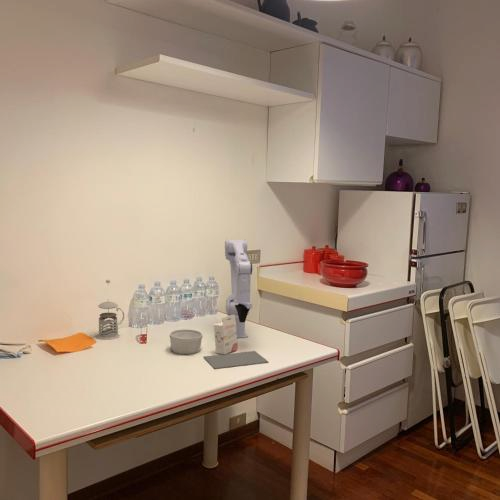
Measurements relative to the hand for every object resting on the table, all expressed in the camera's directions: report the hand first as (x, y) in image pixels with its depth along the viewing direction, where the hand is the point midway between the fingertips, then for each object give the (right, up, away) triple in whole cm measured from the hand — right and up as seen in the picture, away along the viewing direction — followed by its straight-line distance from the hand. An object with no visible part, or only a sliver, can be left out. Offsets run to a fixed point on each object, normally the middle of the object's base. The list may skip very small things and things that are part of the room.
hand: (242, 322), depth 211 cm
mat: (-2, -13, -16) cm, 20 cm away
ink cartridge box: (-6, -11, -6) cm, 14 cm away
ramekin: (-23, -11, -6) cm, 26 cm away
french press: (-57, -8, +8) cm, 58 cm away
